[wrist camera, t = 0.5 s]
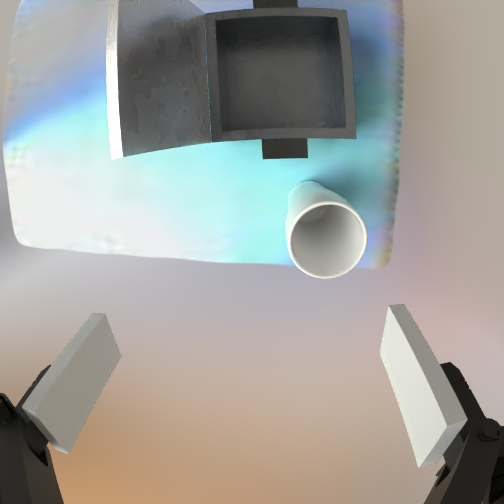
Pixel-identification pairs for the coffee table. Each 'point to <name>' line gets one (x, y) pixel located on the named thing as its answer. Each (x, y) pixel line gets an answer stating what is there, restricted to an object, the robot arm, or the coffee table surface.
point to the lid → (156, 76)
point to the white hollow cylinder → (323, 231)
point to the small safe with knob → (280, 76)
